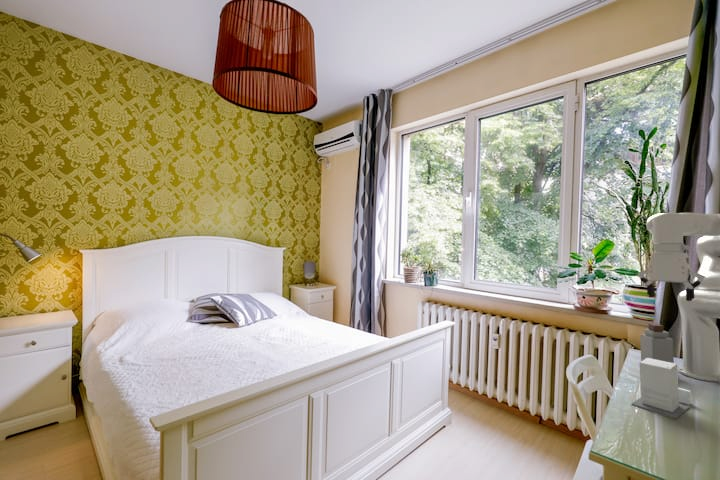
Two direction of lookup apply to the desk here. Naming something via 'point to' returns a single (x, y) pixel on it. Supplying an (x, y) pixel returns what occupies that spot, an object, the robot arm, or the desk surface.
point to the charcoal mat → (674, 414)
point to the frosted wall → (683, 395)
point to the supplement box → (659, 384)
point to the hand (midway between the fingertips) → (669, 298)
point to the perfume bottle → (656, 344)
